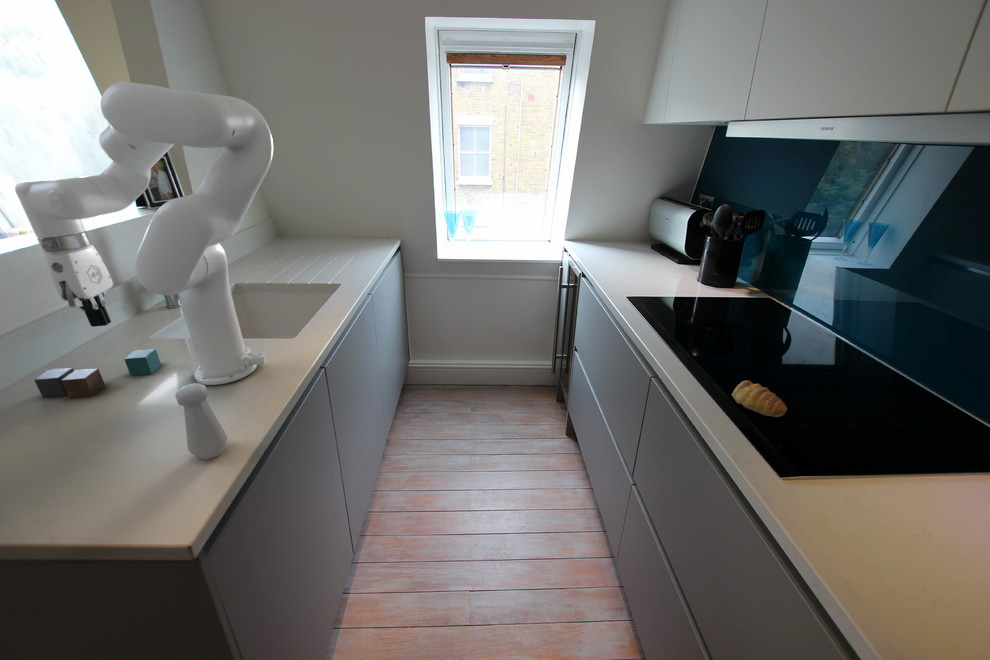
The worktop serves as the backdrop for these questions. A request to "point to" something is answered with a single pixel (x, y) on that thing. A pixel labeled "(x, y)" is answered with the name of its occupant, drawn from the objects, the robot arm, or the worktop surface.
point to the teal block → (142, 362)
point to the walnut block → (83, 383)
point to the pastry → (759, 399)
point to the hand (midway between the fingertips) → (101, 324)
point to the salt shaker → (201, 423)
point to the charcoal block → (52, 382)
